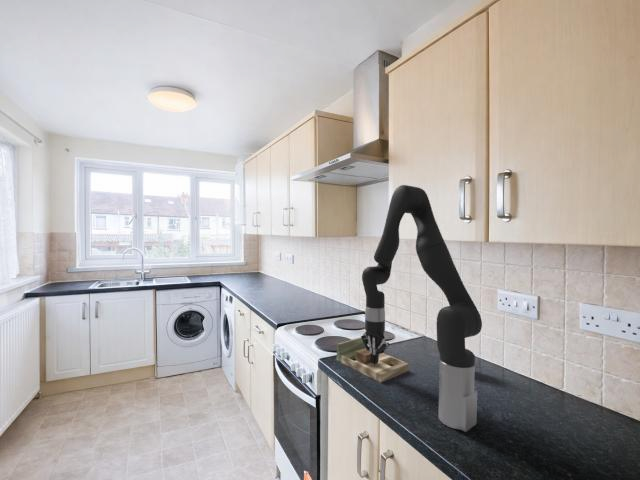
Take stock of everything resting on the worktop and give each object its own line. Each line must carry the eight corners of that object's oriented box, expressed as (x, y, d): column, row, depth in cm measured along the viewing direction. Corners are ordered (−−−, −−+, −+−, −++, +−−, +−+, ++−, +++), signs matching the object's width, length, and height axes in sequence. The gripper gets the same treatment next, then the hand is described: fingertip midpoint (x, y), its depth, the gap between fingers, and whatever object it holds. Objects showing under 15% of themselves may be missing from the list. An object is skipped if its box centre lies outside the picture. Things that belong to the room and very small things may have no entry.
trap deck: (408, 371, 121) (408, 353, 121) (380, 382, 112) (380, 363, 112) (363, 351, 141) (363, 336, 141) (336, 360, 131) (336, 343, 131)
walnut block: (374, 361, 123) (374, 352, 123) (365, 364, 120) (365, 355, 120) (364, 357, 127) (365, 348, 127) (356, 360, 124) (356, 351, 124)
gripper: (395, 320, 116) (394, 366, 117) (369, 313, 127) (368, 355, 127) (381, 324, 112) (380, 372, 112) (355, 316, 122) (355, 359, 123)
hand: (374, 363), depth 120 cm, fingers closed
